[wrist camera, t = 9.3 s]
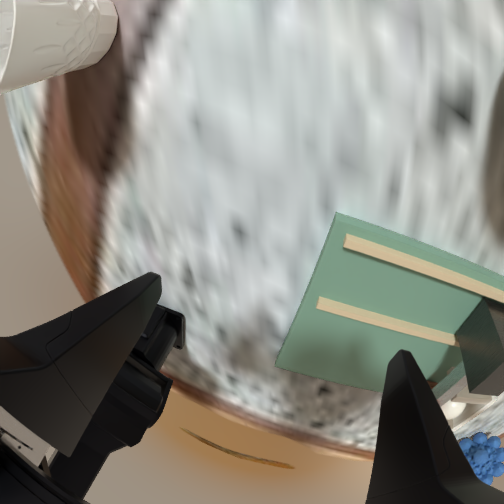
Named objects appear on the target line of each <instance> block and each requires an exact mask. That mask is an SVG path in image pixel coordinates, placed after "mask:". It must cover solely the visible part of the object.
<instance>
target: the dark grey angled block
mask: <svg viewBox="0 0 504 504" xmlns="http://www.w3.org/2000/svg"><path fill="white" fill-rule="evenodd" d="M456 334H457V338H458V342H459V346H460V350H461V354H462V359H463V361H462V362H461V363H460V364H459V365H458V366H457V367H455V368H454V369H453V370H452V371H451V372H450V373H449V374H448V375H447V376H446V377H445V378H444V379H443V380H442V381H440V382H439V383H436V382H430V381H427V382H428V384H429V386H430V388H431V390H432V391H433V393H434V395H435V397H436V399H437V401H438V403H439V405H440V407H441V406H443V405H444V404H445V403H446V402H448V401H449V400H450V399H451V398H453V397H454V396H455V395H456V394H458V393H459V392H460V391H461V390H462V389H464V388H465V387H466V386H467V385H468V389H469V393H472V394H481V395H491V396H499V395H500V394H501V393H502V392H503V391H504V305H502V304H499V303H496V302H494V301H491V300H488V299H486V298H484V299H483V300H482V302H481V303H480V304H479V306H478V307H477V308H476V309H475V311H474V312H473V313H472V315H471V316H470V317H469V318H468V320H467V321H466V322H465V323H464V324H463V326H462V327H461V328H460V329H459V330H458V332H457V333H456Z"/></svg>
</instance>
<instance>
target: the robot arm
mask: <svg viewBox="0 0 504 504" xmlns="http://www.w3.org/2000/svg"><path fill="white" fill-rule="evenodd" d="M161 293H162V284H161V276H160V275H159V274H156V273H153V272H148V273H146V274H144V275H142V276H140V277H138V278H136V279H134V280H132V281H130V282H128V283H126V284H124V285H122V286H120V287H118V288H116V289H114V290H112V291H110V292H108V293H106V294H104V295H102V296H100V297H98V298H96V299H94V300H92V301H90V302H88V303H86V304H84V305H82V306H80V307H78V308H76V309H74V310H73V311H70V312H68V313H66V314H64V315H62V316H60V317H58V318H56V319H54V320H51V321H49V322H47V323H44V324H42V325H40V326H37V327H35V328H32V329H29V330H27V331H25V332H22V333H19V334H17V335H14V336H10V337H0V504H90V503H88V502H87V501H85V500H83V499H84V497H85V495H86V493H87V492H88V490H89V488H90V486H91V485H92V483H93V481H94V480H95V478H96V476H97V474H98V473H99V471H100V469H101V467H102V466H103V464H104V462H105V461H106V459H107V457H108V456H109V454H110V453H112V452H114V451H116V450H118V449H121V448H123V447H125V446H130V447H132V446H134V445H136V444H137V443H139V442H140V441H141V439H142V437H143V435H144V433H145V431H146V429H147V428H150V427H152V426H153V425H154V424H155V423H156V421H157V420H158V419H159V417H160V416H161V414H162V412H163V409H164V407H165V404H166V401H167V398H168V394H169V392H170V389H171V386H172V383H173V380H172V379H170V378H167V377H166V376H165V375H163V374H162V373H160V372H159V370H160V369H161V367H162V365H163V363H164V361H165V360H166V358H167V356H168V354H169V353H170V351H171V349H172V347H175V348H177V349H182V348H183V315H182V314H180V313H178V312H176V311H173V310H170V309H168V308H165V307H163V306H160V305H158V304H157V303H158V301H159V299H160V297H161ZM50 445H51V446H52V447H54V448H55V451H54V453H53V454H52V456H51V457H50V459H49V461H48V463H47V460H46V456H45V453H46V452H47V450H48V449H49V447H50ZM365 504H504V492H502V491H500V490H498V489H496V488H494V487H491V486H490V485H488V484H486V483H484V482H482V481H481V480H480V479H479V478H478V477H477V476H476V474H475V473H474V471H473V469H472V467H471V466H470V464H469V462H468V460H467V458H466V456H465V455H464V453H463V451H462V449H461V447H460V445H459V444H458V442H457V440H456V438H455V436H454V434H453V432H452V429H451V427H450V425H449V423H448V421H447V419H446V417H445V415H444V413H443V411H442V409H441V407H440V405H439V403H438V401H437V399H436V397H435V395H434V393H433V391H432V390H431V388H430V386H429V384H428V382H427V380H426V378H425V376H424V375H423V373H422V371H421V369H420V367H419V366H418V364H417V362H416V360H415V358H414V357H413V355H412V353H411V352H410V351H408V350H404V349H400V350H399V351H398V352H397V353H396V354H395V355H394V357H393V358H392V359H391V360H390V361H389V363H388V366H387V371H386V377H385V383H384V389H383V394H382V400H381V408H380V418H379V427H378V435H377V443H376V450H375V456H374V463H373V468H372V474H371V479H370V485H369V490H368V494H367V500H366V503H365Z"/></svg>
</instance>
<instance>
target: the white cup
mask: <svg viewBox="0 0 504 504" xmlns="http://www.w3.org/2000/svg"><path fill="white" fill-rule="evenodd" d="M117 22H118V15H117V12H116V9H115V6H114V3H112V2H111V1H110V0H0V95H2V94H4V93H7V92H10V91H12V90H15V89H18V88H21V87H24V86H27V85H30V84H33V83H36V82H39V81H42V80H45V79H48V78H51V77H56V76H59V75H62V74H65V73H68V72H71V71H75V70H80V69H84V68H87V67H89V66H91V65H93V64H96V63H98V62H99V60H100V59H101V58H102V57H103V56H104V55H105V54H106V53H107V52H108V51H109V49H110V46H111V44H112V42H113V40H114V37H115V35H116V31H117Z"/></svg>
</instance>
